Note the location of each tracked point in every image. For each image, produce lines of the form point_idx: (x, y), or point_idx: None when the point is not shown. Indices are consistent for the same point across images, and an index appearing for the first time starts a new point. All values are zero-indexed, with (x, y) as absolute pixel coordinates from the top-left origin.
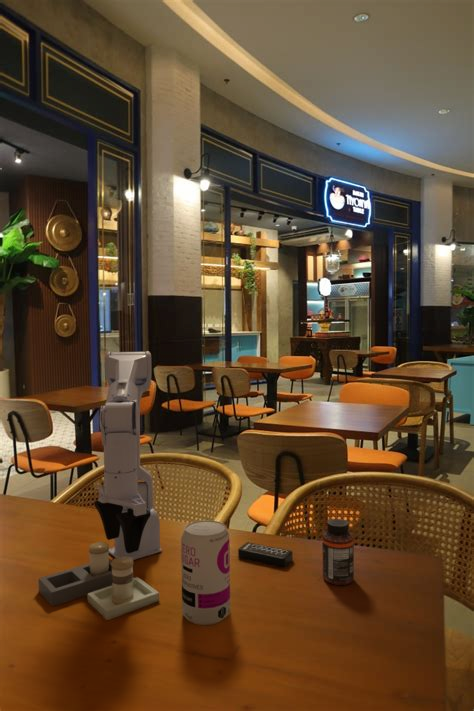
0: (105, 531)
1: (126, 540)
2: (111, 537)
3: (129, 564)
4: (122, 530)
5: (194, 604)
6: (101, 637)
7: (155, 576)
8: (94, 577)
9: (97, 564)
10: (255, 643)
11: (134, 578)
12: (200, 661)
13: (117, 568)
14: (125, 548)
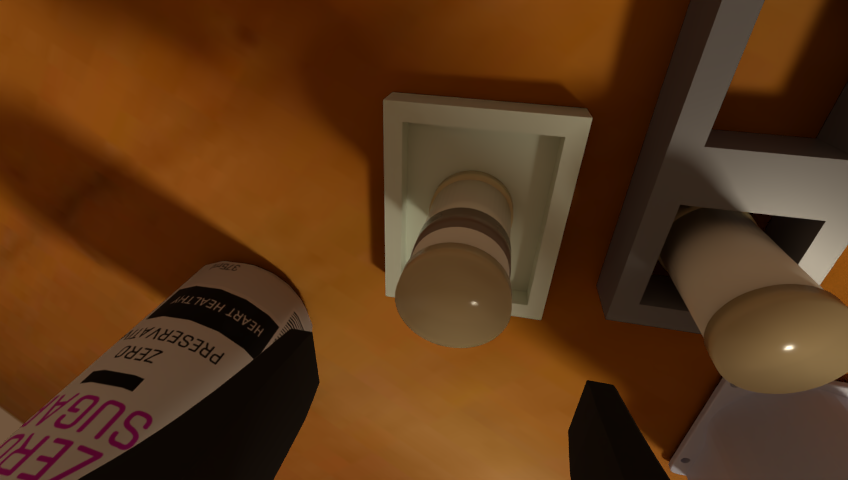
0: (621, 433)
1: (214, 391)
2: (583, 407)
3: (398, 305)
4: (185, 462)
5: (175, 294)
6: (295, 9)
7: (540, 361)
8: (663, 204)
9: (709, 263)
10: (100, 290)
11: (539, 308)
12: (66, 168)
13: (421, 253)
14: (292, 346)
